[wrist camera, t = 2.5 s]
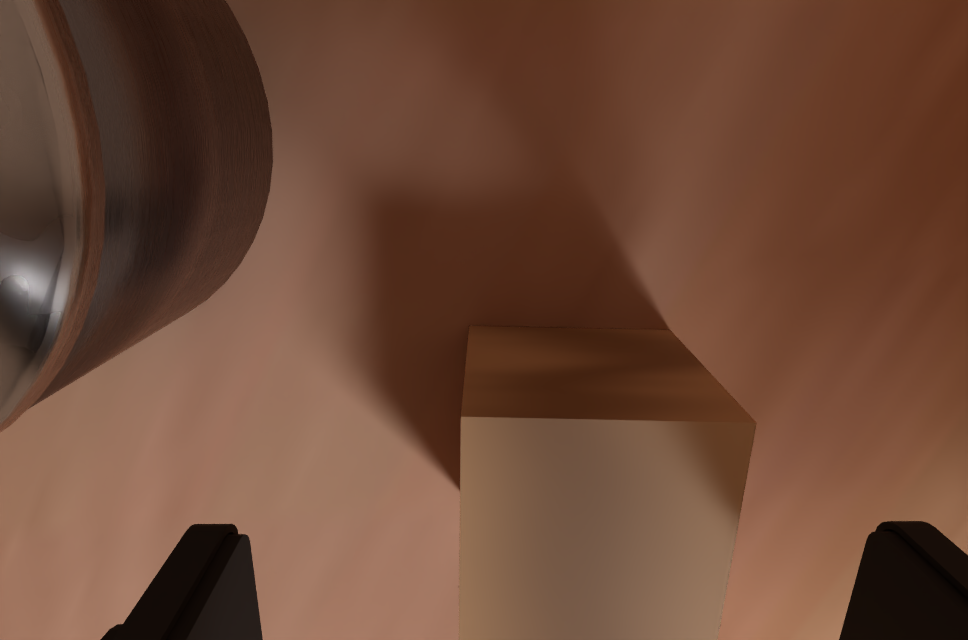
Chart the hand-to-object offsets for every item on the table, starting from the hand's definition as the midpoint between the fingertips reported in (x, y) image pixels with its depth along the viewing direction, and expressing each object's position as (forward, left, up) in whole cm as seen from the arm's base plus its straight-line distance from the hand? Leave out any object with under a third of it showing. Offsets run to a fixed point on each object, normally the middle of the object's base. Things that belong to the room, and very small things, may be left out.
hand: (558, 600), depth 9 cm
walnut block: (-1, 0, -7) cm, 7 cm away
